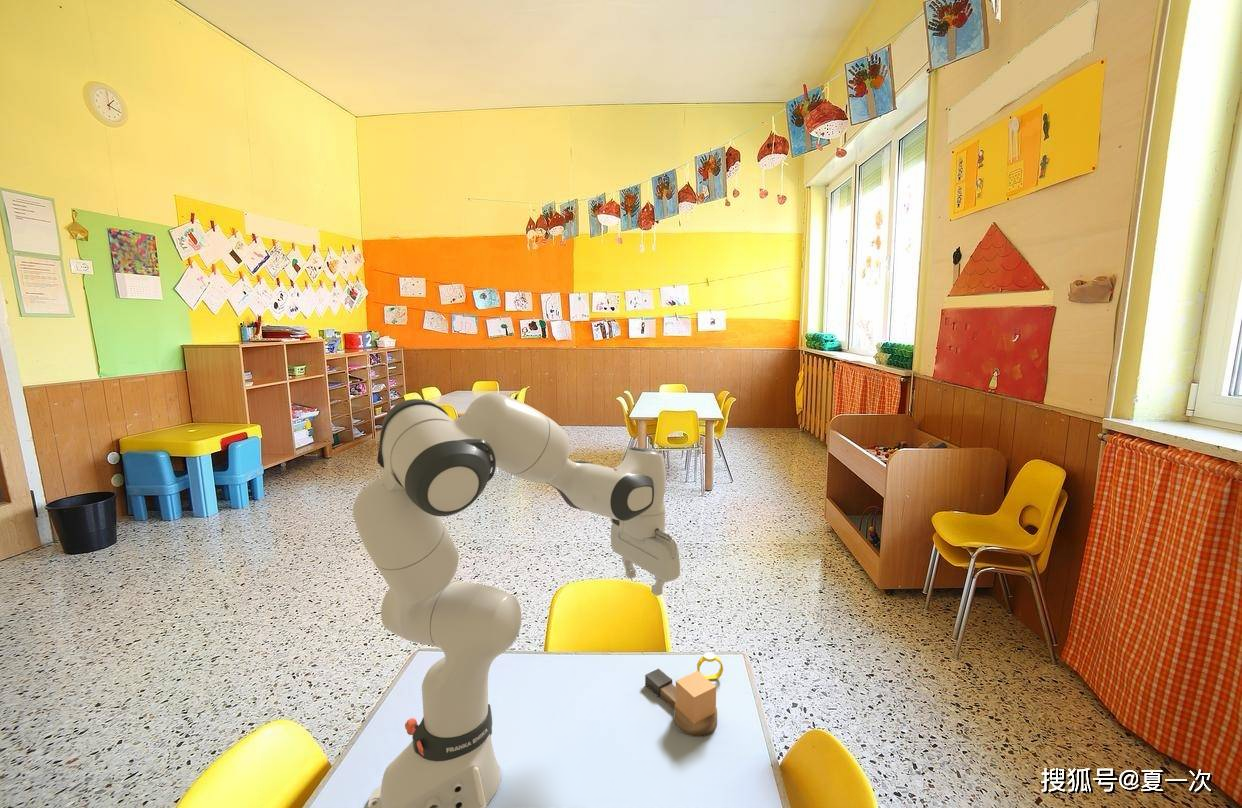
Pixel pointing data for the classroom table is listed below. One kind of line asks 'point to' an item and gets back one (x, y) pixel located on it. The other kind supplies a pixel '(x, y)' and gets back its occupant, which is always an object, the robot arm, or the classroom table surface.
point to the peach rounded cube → (695, 697)
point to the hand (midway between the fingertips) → (643, 585)
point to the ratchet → (667, 692)
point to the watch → (710, 658)
